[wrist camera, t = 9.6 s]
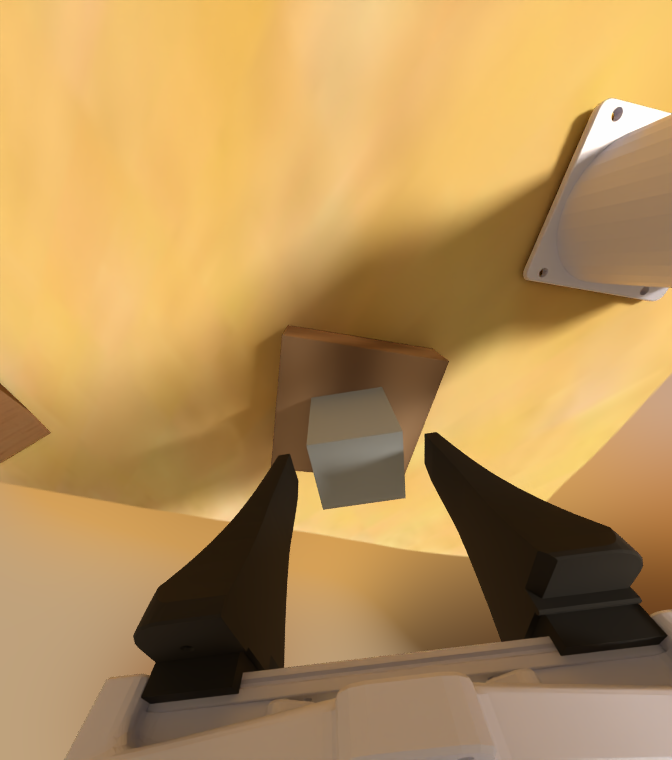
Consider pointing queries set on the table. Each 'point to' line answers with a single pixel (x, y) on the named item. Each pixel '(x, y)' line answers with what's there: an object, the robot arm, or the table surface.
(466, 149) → the table surface
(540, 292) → the table surface
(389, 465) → the grey cube
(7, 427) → the wooden block set
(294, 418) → the walnut block
